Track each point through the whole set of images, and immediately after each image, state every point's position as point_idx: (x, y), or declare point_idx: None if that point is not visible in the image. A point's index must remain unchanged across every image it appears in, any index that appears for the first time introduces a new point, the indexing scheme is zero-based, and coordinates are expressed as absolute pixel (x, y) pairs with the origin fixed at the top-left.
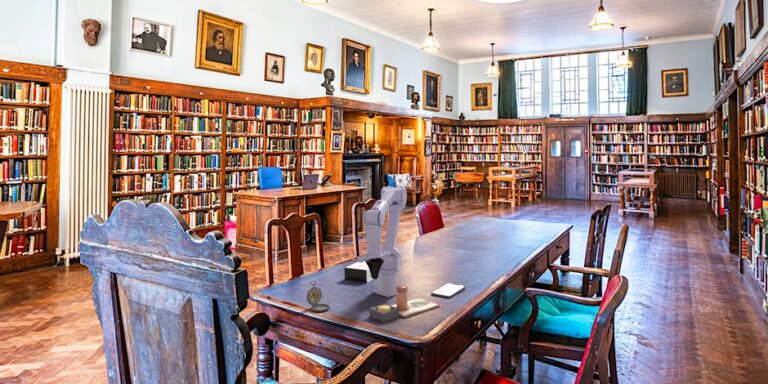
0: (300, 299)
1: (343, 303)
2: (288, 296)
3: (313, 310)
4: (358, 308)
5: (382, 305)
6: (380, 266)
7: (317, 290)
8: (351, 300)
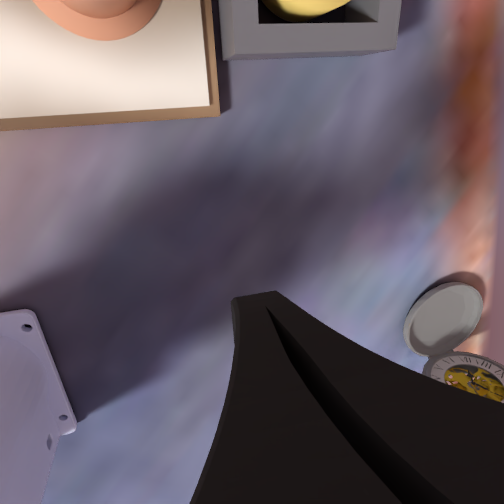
0: None
1: None
2: None
3: (476, 307)
4: (310, 232)
5: (283, 28)
6: (254, 424)
7: None
8: None
